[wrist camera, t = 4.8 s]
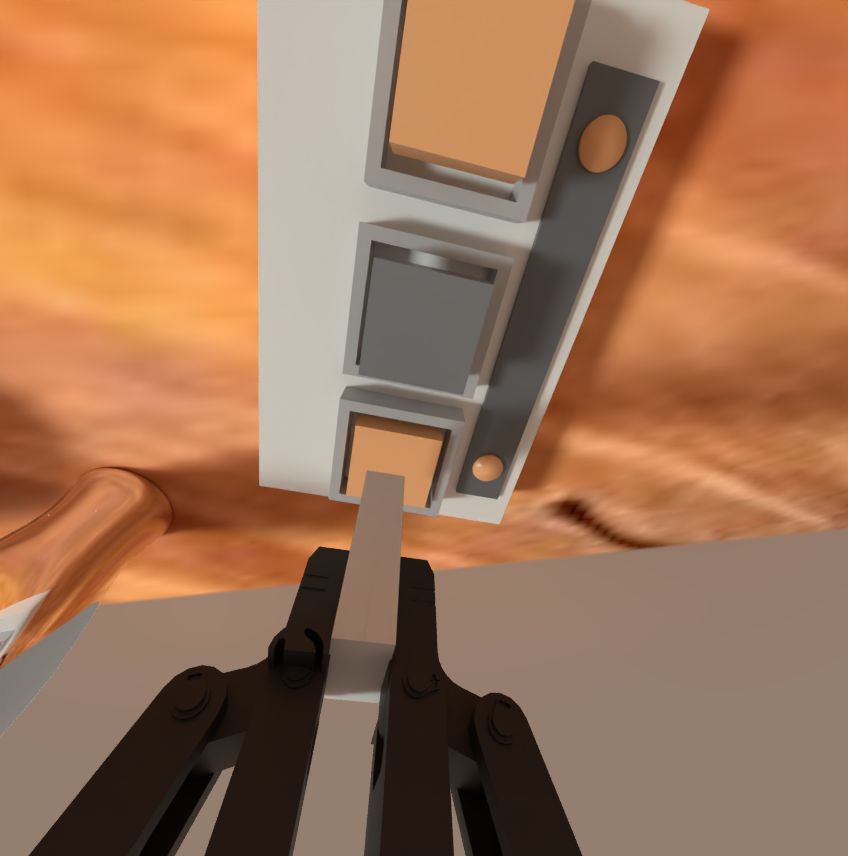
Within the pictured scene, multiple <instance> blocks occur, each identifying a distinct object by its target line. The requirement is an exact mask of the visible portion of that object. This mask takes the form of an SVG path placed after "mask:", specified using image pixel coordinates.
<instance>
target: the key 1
mask: <svg viewBox="0 0 848 856" xmlns="http://www.w3.org/2000/svg"><path fill="white" fill-rule="evenodd" d="M442 442H443V438H442V428H440V427H434V426H429V425H423V424H418V423H413V422H407V421H402V420H397V419H391V418H386V417H380V416H375V415H370V414H364V413H360V414H359V417H358V420H357V423H356V425H355V433H354V440H353V447H352V454H351V462H350V469H349V476H348V483H347V491H346V495H347V496H354V497H360V498H361V496H362V491H363V487H364V482H365V477H366V473H367V470H369V471H375V472H381V473H388V474H394V475H400V476H405V484H404V502H403V505H409V506H415V507H421V508H425V505H426V501H427V497H428V494H429V490H430V486H431V483H432V479H433V475H434V472H435V468H436V464H437V461H438V457H439V453H440V450H441V446H442Z"/></svg>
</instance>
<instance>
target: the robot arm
mask: <svg viewBox="0 0 848 856" xmlns="http://www.w3.org/2000/svg"><path fill="white" fill-rule="evenodd" d="M404 484H405V476H400V475H394V474H388V473H381V472H375V471H369V470H367V473H366V477H365V482H364V487H363V491H362V496H361V501H360V505H359V510H358V515H357V519H356V524H355V529H354V534H353V538H352V543H351V548H350V551H348V550H341V549H334V548H326V547H319V548H318V549H317V550H316V551H315V552H314V553H313V555H312V556H311V557H310V558H309V559H308V562H307V565H306V568H305V571H304V575H303V578H302V581H301V584H300V587H299V590H298V593H297V596H296V599H295V602H294V605H293V608H292V611H291V614H290V617H289V620H288V623H287V626H286V628H284V629H283V630H282V631H280V632H279V633H278V634H277V635H276V636H275V637H274V639H273V640H272V642H271V644H270V646H269V647H268V657H267V658H266V659H264V660H263V661H261V662H259V663H258V664H255V665H253V666H250V667H247V668H243V669H238V670H234V671H230V672H226V673H222V672H221V671H219V670H218V669H216V668H215V667H211V666H204V665H202V666H197V667H193V668H189V669H187V670H185V671H184V672H182V673H180V674H178V675H176V676H175V677H174V678H173V679H172V680H171V681H170V682H169V683H168V684H167V685H166V686H165V687H164V688H163V689H162V690H161V691H160V693H159V694H158V695H157V696H156V698H155V699H154V700H153V701H152V703H151V704H150V705H149V707H148V708H147V709H146V710H145V711H144V713H143V714H142V715H141V716H140V718H139V719H138V720H137V721H136V722H135V724H134V725H133V726H132V727H131V729H130V730H129V731H128V732H127V734H126V735H125V736H124V737H123V739H122V740H121V741H120V742H119V744H118V745H117V746H116V747H115V749H114V750H113V751H112V753H111V754H110V755H109V756H108V757H107V759H106V760H105V761H104V762H103V764H102V765H101V766H100V767H99V769H98V770H97V771H96V772H95V774H94V775H93V776H92V777H91V779H90V780H89V781H88V782H87V784H86V785H85V786H84V787H83V789H82V790H81V791H80V792H79V794H78V795H77V796H76V798H75V799H74V800H73V801H72V802H71V804H70V805H69V806H68V807H67V809H66V810H65V811H64V812H63V813H62V815H61V816H60V817H59V819H58V820H57V821H56V822H55V823H54V825H53V826H52V827H51V829H50V830H49V831H48V832H47V834H46V835H45V836H44V837H43V838H42V840H41V841H40V842H39V843H38V845H37V846H36V847H35V849H34V850H33V851H32V852H31V853H30V855H29V856H175V854H176V852H177V851H178V849H179V847H180V845H181V843H182V842H183V840H184V838H185V836H186V835H187V833H188V831H189V829H190V827H191V825H192V824H193V822H194V820H195V818H196V817H197V815H198V813H199V811H200V809H201V808H202V806H203V804H204V802H205V801H206V799H207V797H208V795H209V793H210V792H211V790H212V788H213V786H214V785H215V783H216V781H217V779H218V777H219V776H220V774H221V772H222V770H224V769H227V768H230V767H233V766H235V767H234V770H233V773H232V776H231V779H230V782H229V785H228V788H227V791H226V794H225V797H224V800H223V803H222V806H221V809H220V812H219V814H218V817H217V821H216V823H215V826H214V829H213V832H212V835H211V838H210V841H209V844H208V847H207V850H206V853H205V856H292V855H293V851H294V846H295V841H296V836H297V831H298V825H299V820H300V816H301V811H302V805H303V800H304V795H305V790H306V785H307V780H308V775H309V770H310V765H311V760H312V755H313V750H314V745H315V740H316V735H317V730H318V725H319V718H320V713H321V708H322V703H323V698H330V699H341V700H351V701H363V702H374V703H379V700H380V705H379V716H378V721H377V724H376V727H375V731H374V735H373V738H372V742H371V744H374V749H373V761H372V771H371V782H370V794H369V805H368V817H367V827H366V839H365V850H364V856H454V848H453V830H452V812H451V793H452V797H453V802H454V806H455V811H456V815H457V819H458V824H459V828H460V832H461V837H462V842H463V846H464V850H465V855H466V856H582V854H581V851H580V849H579V847H578V844H577V841H576V839H575V836H574V834H573V831H572V829H571V827H570V824H569V822H568V819H567V817H566V814H565V812H564V809H563V807H562V804H561V802H560V800H559V797H558V795H557V792H556V790H555V787H554V785H553V782H552V780H551V777H550V775H549V773H548V770H547V768H546V765H545V763H544V760H543V758H542V755H541V753H540V750H539V748H538V745H537V743H536V741H535V738H534V735H533V733H532V731H531V728H530V726H529V723H528V721H527V718H526V717H525V715H524V713H523V712H522V710H521V708H520V707H519V706H518V705H517V704H516V703H515V702H514V701H513V700H512V699H511V698H510V697H507V696H505V695H503V694H501V693H489V694H487V695H485V696H483V697H479V696H477V695H476V694H473V693H471V692H469V691H467V690H465V689H463V688H461V687H460V686H458V685H457V684H455V683H454V682H453V681H451V679H450V678H449V677H447V675H446V674H445V672H444V671H443V669H442V667H441V664H440V662H439V658H438V652H437V651H438V650H437V628H436V606H435V592H434V591H435V585H434V573H433V571H432V569H431V567H430V565H429V563H428V561H427V560H421V559H413V558H406V557H401V539H402V520H403V502H404ZM450 789H451V793H450Z"/></svg>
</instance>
